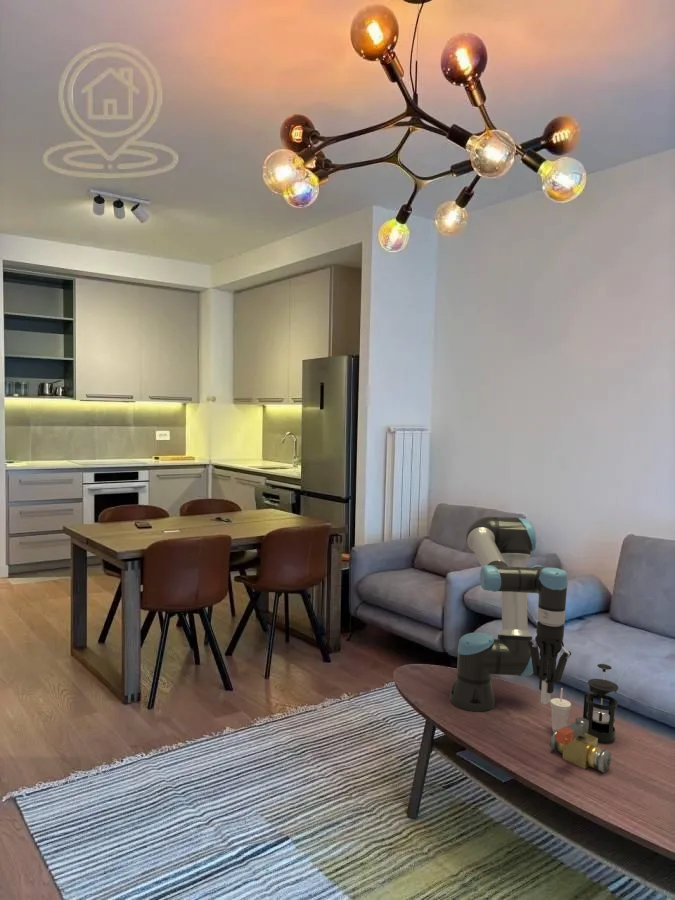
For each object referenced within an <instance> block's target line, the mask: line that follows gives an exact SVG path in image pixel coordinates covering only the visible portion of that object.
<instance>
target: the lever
mask: <svg viewBox="0 0 675 900" xmlns="http://www.w3.org/2000/svg"><path fill="white" fill-rule="evenodd" d="M588 726H589V721H588V720H587V719H585V718H583V717H576V718H575V721H574V722H573V723H571V724H569V725H566V727H563V728H561V729H559V730H558V731H557V733H556V741H557V742H559V743H562V744H564V745H566V744H568V743H570V742H572V741H573V739H575V738H576V737H578V736H580V735H581V734H583V733H588Z"/></svg>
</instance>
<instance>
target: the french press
mask: <svg viewBox="0 0 675 900" xmlns="http://www.w3.org/2000/svg"><path fill="white" fill-rule="evenodd" d="M596 666H597V667H598V668H600V669H602V679H601V678H591V679H588V681H587V685H588V690H589V692H585V693H584V696H583V697H584V698H583V699H584V700H583V709H582V710H583V711H582V715H583V716H582V718H585V719H587V720H588V721H589V726H588V733H587V734H590V735H592V736H594V737H597V738H598V742H597V744H601V745H611V744H613V743H615V742H616V728H615V726H614V724H615V721H616V719H615V710H616V709H617V708H618V701H617V700H616V699H615V698H614V697H612V696H610V695H608V694H609V693H612V692H614V693H616V694H617V691H618V690H619V685H618V684H616V683H615V682H612V681H610V680H606V679H605V674H606V671H607V670H612V666H611V665H609V664H605V663H598V664H597V665H596ZM595 698H596V699H600V700H601V701H600V704H599V703H596V702H594V699H595ZM604 700H606V701H609V702H608V703H609V704H608V705H603V701H604ZM594 708H596V709H598V710H594ZM604 711H608V713H607V712H604Z"/></svg>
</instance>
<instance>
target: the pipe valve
mask: <svg viewBox="0 0 675 900" xmlns="http://www.w3.org/2000/svg"><path fill="white" fill-rule="evenodd" d="M557 731H558V729H556V730H555V731H554V732H553V731H552V734H551V736H550V739H549V747H550V749H551V750H553V751H555V752H559V753H560V754H562V760H565V761H567V762H569V763H571V764H574V765H575V766H577V767H580V768H581V769H585V770H586V769H587V768H589V767H591V768H593V769H597V770H598V772H601V773H603V774H605V773H606V772H608V770H609V769H610V766H611V763H612V753H611V751H609V750H607V749H603V748H601V747H599V746H598V743H597V742H598V738H597V737H594V736H592V735H590V734H587V733H583V734H581V735H580V736H578V737H576V738H575V739H573V741H572V742H570V743H568V744H566V745H564V744H562V743H559V742H557V741H556V733H557Z"/></svg>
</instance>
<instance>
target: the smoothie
mask: <svg viewBox="0 0 675 900" xmlns="http://www.w3.org/2000/svg"><path fill="white" fill-rule="evenodd" d="M563 689H564V688H563V687H561V688H560V695H559V697H560V698H558V697H554V698H550V703H549V704H550V708H551V710H550V711H551V726H552V727H551V728H552V733H553V732H554V731H555V730H556V729H558V730H559V729H561V728H563V727H567V726H568V725H567V724H568V720H569V714H570V711H571V708H572V703H571V702H570V701H569V700H567V699H564V698H563Z"/></svg>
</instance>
